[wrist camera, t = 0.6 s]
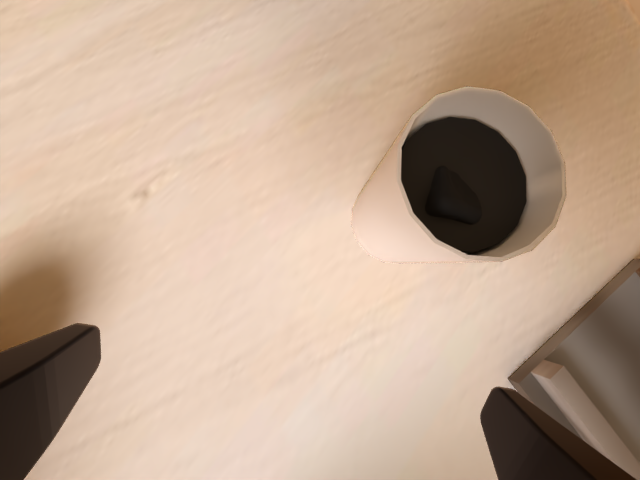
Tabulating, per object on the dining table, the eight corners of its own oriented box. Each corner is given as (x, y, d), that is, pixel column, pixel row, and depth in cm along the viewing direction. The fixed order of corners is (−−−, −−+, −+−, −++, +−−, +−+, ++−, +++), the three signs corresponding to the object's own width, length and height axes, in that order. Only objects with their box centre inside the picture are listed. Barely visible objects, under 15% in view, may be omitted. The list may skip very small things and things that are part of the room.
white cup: (429, 281, 21) (553, 283, 12) (333, 255, 21) (376, 234, 11) (449, 188, 22) (578, 115, 13) (357, 160, 22) (417, 63, 12)
